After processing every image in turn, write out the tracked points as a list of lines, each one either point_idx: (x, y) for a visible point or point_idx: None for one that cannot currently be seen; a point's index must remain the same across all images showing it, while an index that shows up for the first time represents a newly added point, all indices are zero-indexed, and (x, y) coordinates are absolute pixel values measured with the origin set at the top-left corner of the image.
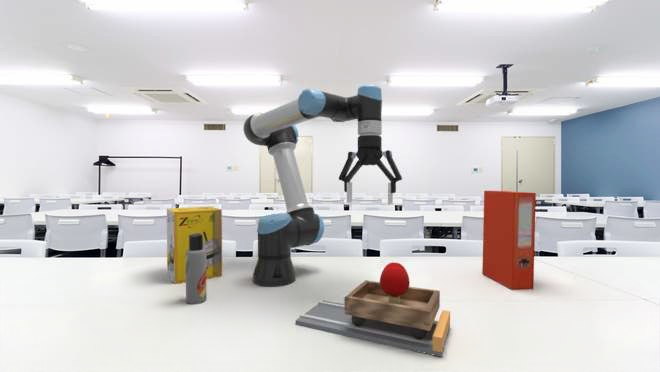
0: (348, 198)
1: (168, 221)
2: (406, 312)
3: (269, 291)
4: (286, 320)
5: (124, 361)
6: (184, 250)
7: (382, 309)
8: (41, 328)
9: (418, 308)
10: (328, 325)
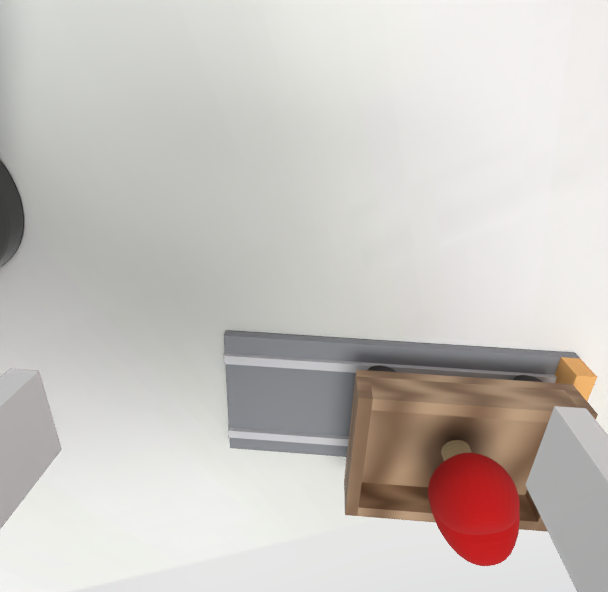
0: (26, 489)
1: None
2: None
3: (30, 303)
4: (203, 433)
5: (96, 577)
6: None
7: None
8: None
9: (522, 524)
10: (305, 447)
